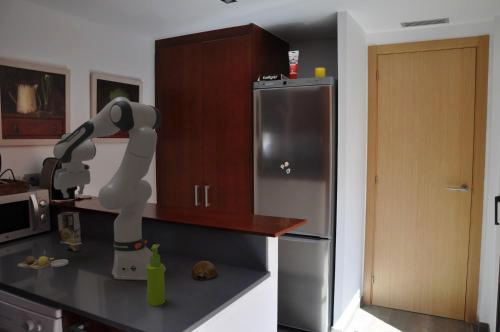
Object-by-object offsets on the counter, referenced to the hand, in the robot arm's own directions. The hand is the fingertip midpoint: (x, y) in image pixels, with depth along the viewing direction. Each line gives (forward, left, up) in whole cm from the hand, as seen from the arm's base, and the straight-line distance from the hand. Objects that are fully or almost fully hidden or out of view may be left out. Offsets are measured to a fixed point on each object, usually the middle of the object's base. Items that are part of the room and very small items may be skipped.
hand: (73, 196), depth 188 cm
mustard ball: (+4, +17, -28) cm, 34 cm away
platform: (+7, -6, -30) cm, 31 cm away
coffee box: (+20, -18, -29) cm, 40 cm away
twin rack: (+7, +17, -29) cm, 35 cm away
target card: (+9, +8, -29) cm, 31 cm away
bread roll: (-71, +8, -30) cm, 77 cm away
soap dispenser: (-65, +35, -29) cm, 79 cm away
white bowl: (-2, +13, -29) cm, 32 cm away
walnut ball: (+10, +17, -29) cm, 35 cm away
